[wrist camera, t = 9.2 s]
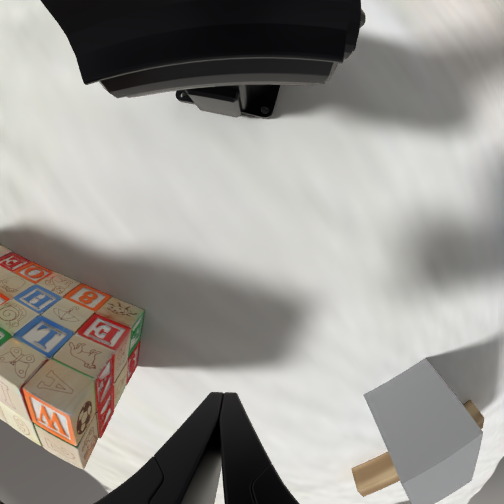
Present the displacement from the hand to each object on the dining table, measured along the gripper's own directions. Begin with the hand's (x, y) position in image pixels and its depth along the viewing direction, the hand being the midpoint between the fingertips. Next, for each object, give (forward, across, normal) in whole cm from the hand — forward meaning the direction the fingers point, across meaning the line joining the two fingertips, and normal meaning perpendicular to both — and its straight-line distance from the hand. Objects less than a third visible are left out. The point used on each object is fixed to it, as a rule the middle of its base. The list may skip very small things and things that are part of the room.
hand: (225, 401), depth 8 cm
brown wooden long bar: (+12, -22, +24) cm, 35 cm away
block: (+12, -18, +17) cm, 27 cm away
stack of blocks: (+12, +18, +2) cm, 22 cm away
